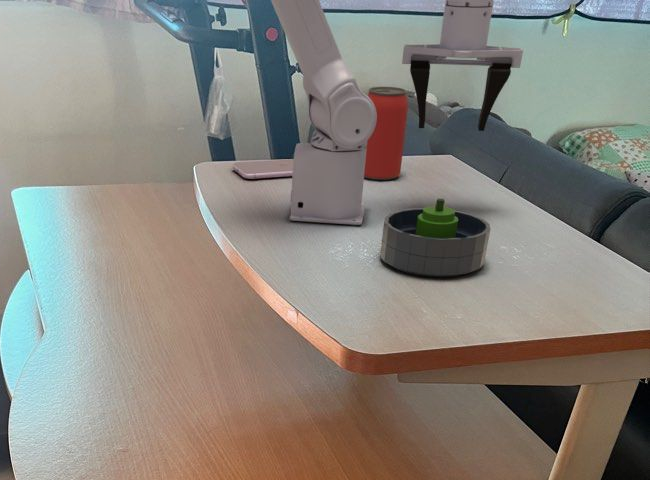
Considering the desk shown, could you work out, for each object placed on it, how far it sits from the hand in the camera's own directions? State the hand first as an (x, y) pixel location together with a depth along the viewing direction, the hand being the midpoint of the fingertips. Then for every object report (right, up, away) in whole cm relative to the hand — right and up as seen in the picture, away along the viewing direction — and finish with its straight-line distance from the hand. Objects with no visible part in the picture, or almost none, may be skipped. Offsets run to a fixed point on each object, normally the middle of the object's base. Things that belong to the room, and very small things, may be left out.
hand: (451, 128), depth 109 cm
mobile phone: (-21, +4, +22) cm, 31 cm away
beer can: (-6, +3, +21) cm, 22 cm away
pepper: (-5, -21, -11) cm, 24 cm away
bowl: (-5, -21, -11) cm, 24 cm away
